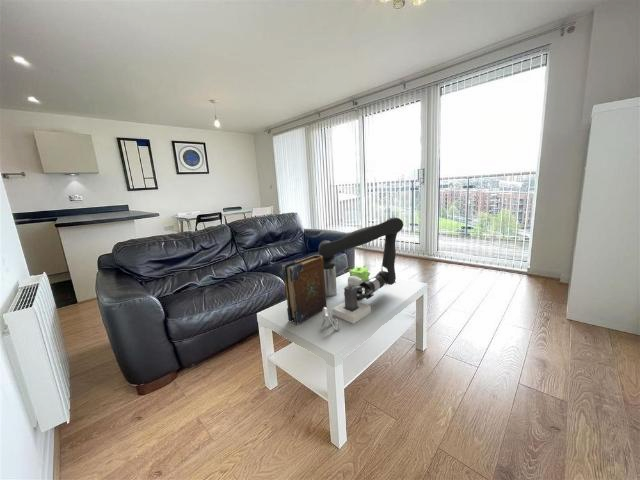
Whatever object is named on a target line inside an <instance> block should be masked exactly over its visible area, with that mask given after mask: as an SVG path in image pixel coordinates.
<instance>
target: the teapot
mask: <svg viewBox="0 0 640 480" xmlns="http://www.w3.org/2000/svg"><path fill="white" fill-rule="evenodd" d="M348 273H349V277H350V276H356V277H359V278H360V279H362V280H363V282H364V281H366V280H368V279H370V278H369V277H370V275H371V272H370V271H369V267H366V264H363V266H355V267H354V268H352V269H348Z"/></svg>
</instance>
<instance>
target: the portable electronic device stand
mask: <svg viewBox="0 0 640 480" xmlns="http://www.w3.org/2000/svg"><path fill="white" fill-rule="evenodd" d="M322 314H323V320H322V323H321V327H322V329H321V330H322V331H324V328H325V326H326V324H327V321H328V320H329V321H330V323H331V325H332V327H333V328H334V329H335V331H336V332H339V331H340V326H339V321H338V317H337V316H335V318H333V316H332V315H331V313H330V311H329V310H328V308H327V307H323V310H322Z"/></svg>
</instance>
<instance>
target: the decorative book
mask: <svg viewBox="0 0 640 480" xmlns="http://www.w3.org/2000/svg"><path fill="white" fill-rule="evenodd" d="M281 267H282V268H281V269H282V275H283V277H282V278H283V280H284V284H285V285H284V287H285V294H286V295H285V296H286V303H287V304H286V305H287V308H286V311H287V320H289V321H292V320H294V319H295V320H294V323H295V324H296V325H295V326H297V325H298V326H300V325H301V324H302V322H303V323H305V322H306V321H308V319H309V318H311V317H313V316H314V315H316V314H317V313H320V312H321V311H323V307H326V308H327V305H328V303H327V296H326V290H325V278H324V265H323V256H321V255H319V254H316V255H311V256H308V257H305V258H303V259H299V260H298V261H289V262H286V263H285V264H282V265H281ZM289 321H288V322H289ZM304 321H305V322H304ZM292 322H293V321H292ZM299 324H300V325H299Z"/></svg>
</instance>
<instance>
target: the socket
mask: <svg viewBox="0 0 640 480" xmlns="http://www.w3.org/2000/svg"><path fill="white" fill-rule="evenodd" d="M357 303H358V309H356V310H354V311H353V312H352V311H349V310H347V309H345V301H344V302H341V303H340V304H338V305H337V306H334V307H332V315H333V316H335V317H337V318H339V319H342V320H343V321H346V322H348V323H351V324H355V323H357V322H359V321H360V320H362V319H363V318H365V317H366V316H368V315H370V314H371V313H372V308H371V307H372V306H371V305H368V304H366V303H362V302H360V301H357Z"/></svg>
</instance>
